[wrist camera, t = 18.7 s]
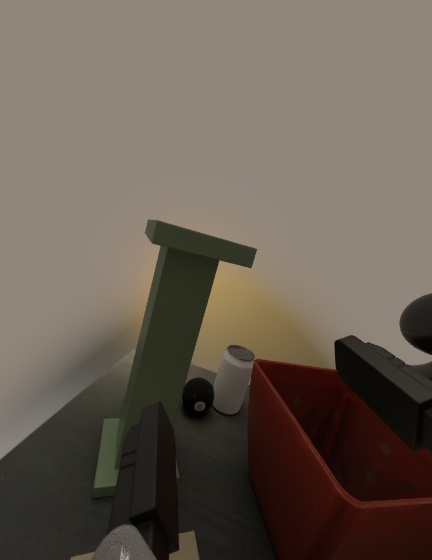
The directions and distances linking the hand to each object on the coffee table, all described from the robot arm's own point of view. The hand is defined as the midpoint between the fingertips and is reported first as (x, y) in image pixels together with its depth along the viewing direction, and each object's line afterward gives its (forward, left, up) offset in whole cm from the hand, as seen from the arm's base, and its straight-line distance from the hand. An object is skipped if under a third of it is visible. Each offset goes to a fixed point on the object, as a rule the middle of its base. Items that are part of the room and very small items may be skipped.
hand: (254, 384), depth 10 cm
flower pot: (-20, +13, -26) cm, 35 cm away
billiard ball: (-30, -7, -26) cm, 40 cm away
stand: (-17, -11, -26) cm, 33 cm away
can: (-35, -2, -26) cm, 44 cm away
